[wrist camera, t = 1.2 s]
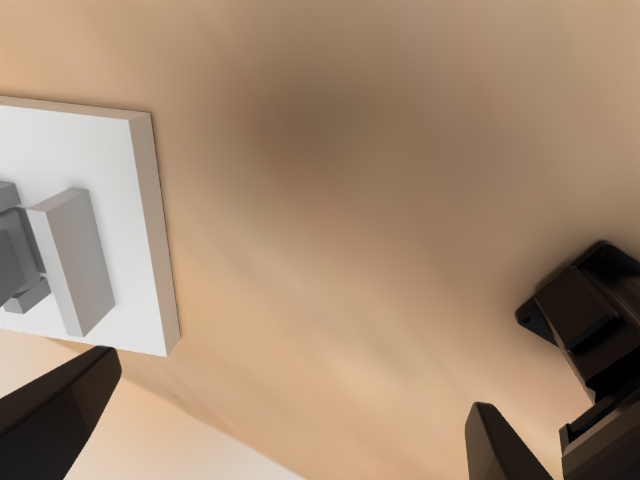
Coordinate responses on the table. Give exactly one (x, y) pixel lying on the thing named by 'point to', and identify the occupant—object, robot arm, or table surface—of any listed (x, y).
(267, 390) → the table surface
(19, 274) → the lever
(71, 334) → the switch plate
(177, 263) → the table surface
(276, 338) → the table surface
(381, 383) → the table surface
